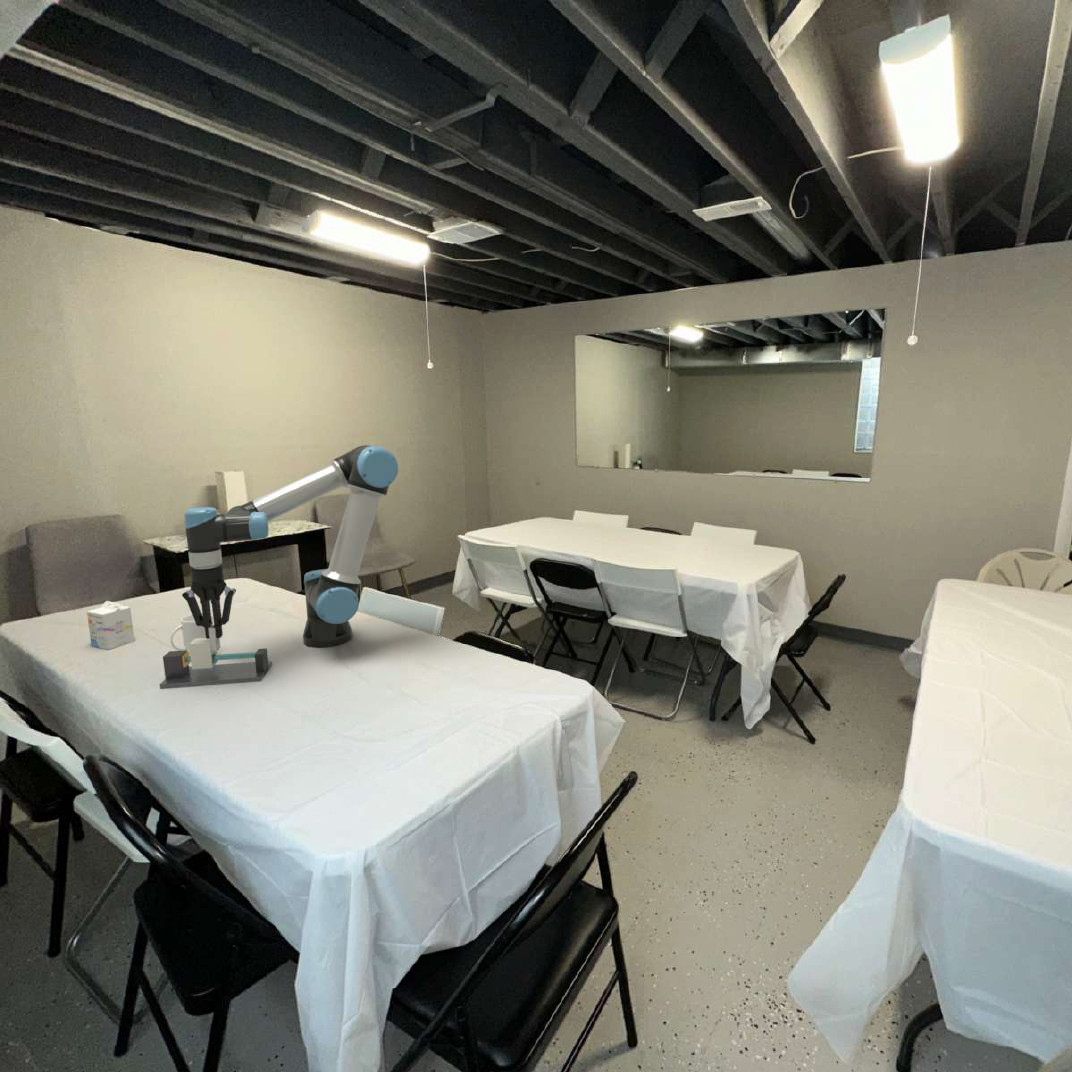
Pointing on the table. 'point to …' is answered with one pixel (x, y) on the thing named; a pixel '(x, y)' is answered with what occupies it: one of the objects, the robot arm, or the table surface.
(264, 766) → the table surface
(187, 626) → the mug
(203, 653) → the sleeve
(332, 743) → the table surface
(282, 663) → the table surface
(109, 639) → the ink box
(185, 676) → the glowing rod on plate
